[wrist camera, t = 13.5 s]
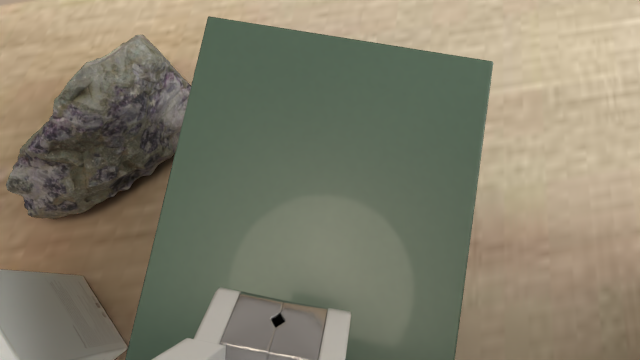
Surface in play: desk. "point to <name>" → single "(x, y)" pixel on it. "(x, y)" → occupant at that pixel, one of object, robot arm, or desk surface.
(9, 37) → the desk surface
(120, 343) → the small box
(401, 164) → the bin lid
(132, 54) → the mineral rock
